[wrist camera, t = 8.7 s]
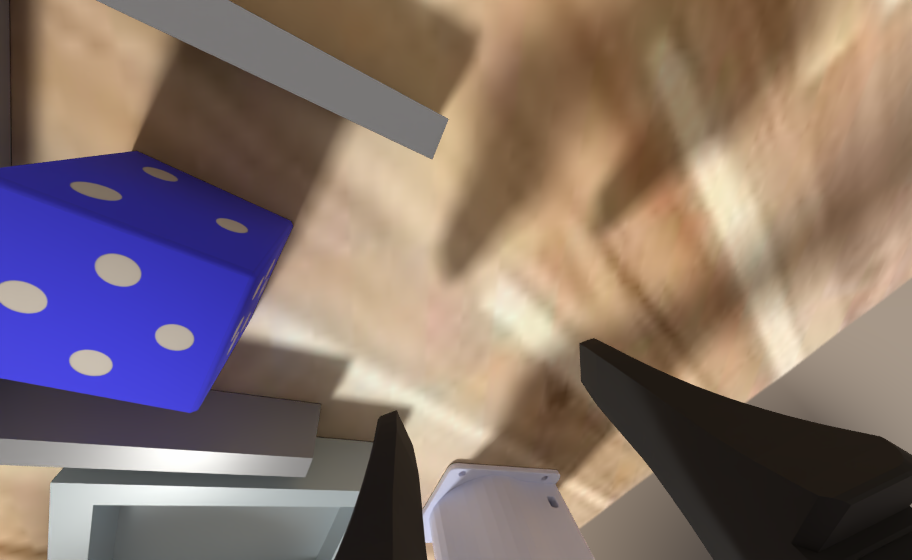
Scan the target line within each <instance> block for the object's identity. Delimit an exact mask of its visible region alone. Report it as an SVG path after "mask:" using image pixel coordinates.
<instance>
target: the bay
mask: <svg viewBox="0 0 912 560" xmlns="http://www.w3.org/2000/svg"><path fill="white" fill-rule="evenodd" d="M97 1H99V2H101V3H103V4H105V5H107V6H109V7H111V8H113V9H116V10H118V11H120V12H122V13H124V14H126V15H128V16H130V17H132V18H135V19H137V20H139V21H141V22H143V23H145V24H147V25H149V26H151V27H154V28H156V29H158V30H160V31H162V32H164V33H166V34H168V35H171V36H173V37H175V38H177V39H179V40H181V41H183V42H185V43H187V44H190V45H192V46H194V47H196V48H198V49H200V50H202V51H204V52H206V53H209V54H211V55H213V56H215V57H217V58H219V59H221V60H223V61H225V62H228V63H230V64H232V65H234V66H236V67H238V68H240V69H242V70H244V71H247V72H249V73H251V74H253V75H255V76H257V77H259V78H261V79H263V80H266V81H268V82H270V83H272V84H274V85H276V86H278V87H280V88H282V89H285V90H287V91H289V92H291V93H293V94H295V95H297V96H299V97H301V98H304V99H306V100H308V101H310V102H312V103H314V104H316V105H318V106H320V107H323V108H325V109H327V110H329V111H331V112H333V113H335V114H337V115H339V116H342V117H344V118H346V119H348V120H350V121H352V122H354V123H356V124H358V125H361V126H363V127H365V128H367V129H369V130H371V131H373V132H375V133H377V134H380V135H382V136H384V137H386V138H388V139H390V140H392V141H394V142H396V143H399V144H401V145H403V146H405V147H407V148H409V149H411V150H413V151H415V152H418V153H420V154H422V155H424V156H426V157H428V158H430V159H433V157H434V154H435V152H436V149H437V147H438V144H439V142H440V139H441V137H442V134H443V132H444V129H445V127H446V124H447V122H448V118H446V117H444V116H442V115H440V114H438V113H436V112H435V111H433V110H431V109H429V108H427V107H425V106H424V105H422V104H420V103H418V102H416V101H414V100H412V99H411V98H409V97H407V96H405V95H403V94H401V93H399V92H398V91H396V90H394V89H392V88H390V87H388V86H386V85H385V84H383V83H381V82H379V81H377V80H375V79H373V78H372V77H370V76H368V75H366V74H364V73H362V72H360V71H359V70H357V69H355V68H353V67H351V66H349V65H348V64H346V63H344V62H342V61H340V60H338V59H336V58H335V57H333V56H331V55H329V54H327V53H325V52H323V51H322V50H320V49H318V48H316V47H314V46H312V45H310V44H309V43H307V42H305V41H303V40H301V39H299V38H297V37H296V36H294V35H292V34H290V33H288V32H286V31H284V30H283V29H281V28H279V27H277V26H275V25H273V24H271V23H270V22H268V21H266V20H264V19H262V18H260V17H259V16H257V15H255V14H253V13H251V12H249V11H247V10H246V9H244V8H242V7H240V6H238V5H236V4H234V3H233V2H231V1H229V0H97ZM10 166H11V122H10V36H9V0H0V168H2V167H10ZM320 409H321V404H316V403H308V402H300V401H292V400H284V399H276V398H269V397H261V396H253V395H245V394H237V393H229V392H221V391H214V390H210V391H209V392H208V394H207V396H206V397H205V399H204V401H203V403H202V404H201V406H200V408H199V410H197V411H194V412H191V413H187V412H181V411H176V410H171V409H165V408H160V407H154V406H149V405H143V404H138V403H133V402H127V401H122V400H116V399H111V398H105V397H100V396H95V395H89V394H84V393H78V392H73V391H67V390H62V389H57V388H51V387H46V386H40V385H35V384H29V383H24V382H19V381H13V380H8V379H2V378H0V465H17V466H42V467H66V468H90V469H114V470H139V471H163V472H187V473H212V474H236V475H260V476H285V477H306V474H307V472H308V469H309V467H310V464H311V462H312V459H313V454H314V448H315V441H316V435H317V429H318V422H319V416H320Z"/></svg>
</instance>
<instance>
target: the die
mask: <svg viewBox="0 0 912 560" xmlns="http://www.w3.org/2000/svg"><path fill="white" fill-rule="evenodd" d="M292 228H293V224H292V222H291V221H290V220H288V219H286V218H283V217H281V216H279V215H277V214H275V213H272V212H270V211H268V210H266V209H264V208H261V207H259V206H257V205H255V204H253V203H250V202H248V201H246V200H244V199H242V198H239V197H237V196H235V195H233V194H231V193H228V192H226V191H224V190H222V189H220V188H217V187H215V186H213V185H211V184H209V183H206V182H204V181H202V180H200V179H198V178H195V177H193V176H191V175H189V174H187V173H184V172H182V171H180V170H178V169H176V168H173V167H171V166H169V165H167V164H165V163H162V162H160V161H158V160H156V159H154V158H151V157H149V156H147V155H145V154H143V153H140V152H138V151H132V152H124V153H116V154H107V155H99V156H91V157H83V158H75V159H67V160H59V161H51V162H43V163H34V164H26V165H18V166H10V167H2V168H0V378H2V379H8V380H13V381H19V382H24V383H29V384H35V385H40V386H46V387H51V388H57V389H62V390H67V391H73V392H78V393H84V394H89V395H95V396H100V397H105V398H111V399H116V400H122V401H127V402H133V403H138V404H143V405H149V406H154V407H160V408H165V409H171V410H176V411H181V412H187V413H191V412H194V411H197V410H199V408H200V406H201V404H202V403H203V401H204V399H205V397H206V396H207V394H208V392H209V391H210V389H211V387H212V385H213V384H214V382H215V380H216V378H217V377H218V375H219V373H220V372H221V370H222V368H223V366H224V365H225V363H226V361H227V359H228V358H229V356H230V354H231V353H232V351H233V349H234V347H235V346H236V344H237V342H238V340H239V339H240V337H241V335H242V334H243V332H244V330H245V328H246V327H247V325H248V323H249V321H250V319H251V317H252V315H253V312H254V310H255V308H256V306H257V304H258V302H259V299H260V297H261V295H262V293H263V291H264V289H265V286H266V284H267V282H268V280H269V278H270V276H271V273H272V271H273V269H274V267H275V265H276V263H277V260H278V258H279V256H280V254H281V252H282V250H283V247H284V245H285V243H286V241H287V239H288V237H289V234H290V232H291V230H292Z"/></svg>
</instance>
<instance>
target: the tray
mask: <svg viewBox="0 0 912 560" xmlns="http://www.w3.org/2000/svg"><path fill="white" fill-rule="evenodd" d="M372 446H373V442H365V441H354V440H342V439H331V438H320V437H316V441H315V448H314V454H313V459H312V462H311V464H310V467H309V469H308V472H307V474H306V477H285V476H260V475H236V474H212V473H187V472H163V471H139V470H114V469H90V468H66V467H64V468H63V469H62V470H61V471H60V472H59V474H58V475H57V476H56V477H55V478H54V479H53V480H52V482H51V483H50V508H49V533H48V558H47V560H334V559H335V556H336V554H337V552H338V549H339V547H340V544H341V542H342V539H343V537H344V534H345V532H346V529H347V526H348V524H349V521H350V518H351V516H352V513H353V510H354V507H355V504H356V501H357V498H358V495H359V492H360V489H361V486H362V483H363V479H364V476H365V472H366V469H367V465H368V462H369V458H370V454H371V450H372Z"/></svg>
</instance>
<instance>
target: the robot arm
mask: <svg viewBox="0 0 912 560" xmlns="http://www.w3.org/2000/svg"><path fill="white" fill-rule="evenodd" d="M579 345H580V367H581V382H582V383H583V385H584V386H585V388H586V390H587V391H588V393H589V394H590V396H591V397H592V398H593V400H594V401H595V403H596V404H597V406H598V407H599V408H600V409H601V410H602V412H603V413H604V414H605V415H606V416H607V417H608V419H609V420H610V421H611V422H612V423H613V424H614V426H615V427H616V428H617V429H618V430H619V431H620V433H621V434H622V435H623V436H624V437H625V438H626V440H627V441H628V442H629V443H630V444H631V445H632V447H633V448H634V449H635V450H636V451H637V452H638V454H639V455H640V456H641V457H642V458H643V460H644V461H645V462H646V463H647V465H648V466H649V467H650V468H651V470H652V471H653V472H654V474H655V475H656V476H657V478H658V479H659V481H660V482H661V483H662V485H663V486H664V488H665V489H666V490H667V492H668V493H669V494H670V496H671V497H672V498H673V500H674V502H675V503H676V505H677V506H678V507H679V509H680V510H681V512H682V513H683V515H684V516H685V517H686V519H687V520H688V522H689V523H690V525H691V526H692V528H693V529H694V531H695V532H696V534H697V535H698V537H699V538H700V540H701V541H702V543H703V544H704V546H705V547H706V549H707V550H708V552H709V553H710V555H711V557H712V558H713V559H714V560H912V508H911V507H910V505H911V503H912V455H911V454H909V453H908V452H906V451H904V450H903V449H901V448H899V447H898V446H896V445H894V444H893V443H891V442H889V441H888V440H886V439H884V438H882V437H880V436H875V435H870V434H866V433H861V432H856V431H851V430H846V429H841V428H836V427H832V426H827V425H823V424H818V423H814V422H810V421H806V420H802V419H798V418H794V417H790V416H786V415H783V414H779V413H776V412H772V411H769V410H765V409H762V408H759V407H755V406H752V405H749V404H745V403H742V402H739V401H736V400H733V399H730V398H727V397H724V396H721V395H719V394H716V393H713V392H710V391H708V390H705V389H702V388H700V387H697V386H694V385H692V384H689V383H687V382H685V381H682V380H680V379H678V378H675V377H673V376H671V375H668V374H666V373H664V372H662V371H659V370H657V369H655V368H653V367H651V366H649V365H647V364H644V363H642V362H640V361H638V360H636V359H634V358H632V357H630V356H628V355H626V354H624V353H622V352H620V351H618V350H616V349H614V348H612V347H611V346H609V345H607V344H605V343H603V342H601V341H599V340H597V339H595V338H593V339H590V340H587V341H584V342H582V343H579ZM559 479H560V474H559V472H558V471H557V470H551V469H537V468H522V467H508V466H494V465H479V464H465V463H453V464H451V465H449V467H448V468H447V470H446V471H445V473H444V475H443V476H442V478H441V480H440V481H439V483H438V485H437V486H436V488H435V490H434V491H433V493H432V495H431V496H430V498H429V500H428V502H427V503H426V505H425V507H424V508H423V510H422V503H421V492H420V482H419V474H418V469H417V463H416V458H415V453H414V448H413V445H412V443H411V440H410V438H409V436H408V434H407V432H406V430H405V427H404V425H403V423H402V421H401V419H400V417H399V414H398V412H397V410H396V411H394V412H391V413H388V414H385V415H383V416H380V417H379V419H378V422H377V428H376V433H375V437H374V442H373V446H372V450H371V454H370V458H369V462H368V465H367V469H366V472H365V476H364V479H363V483H362V486H361V489H360V492H359V495H358V498H357V501H356V504H355V507H354V510H353V513H352V516H351V518H350V521H349V524H348V526H347V529H346V532H345V534H344V537H343V539H342V542H341V544H340V547H339V549H338V552H337V554H336V556H335V559H334V560H427V554H426V546H425V543H433V549H434V556H435V560H595V558H594V556H593V554H592V553H591V551H590V549H589V547H588V545H587V543H586V541H585V539H584V537H583V536H582V534H581V532H580V530H579V528H578V526H577V524H576V522H575V520H574V518H573V517H572V515H571V513H570V511H569V509H568V507H567V505H566V503H565V501H564V499H563V498H562V496H561V494H560V492H559V490H558V488H557V486H556V483H557V481H558V480H559Z"/></svg>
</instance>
